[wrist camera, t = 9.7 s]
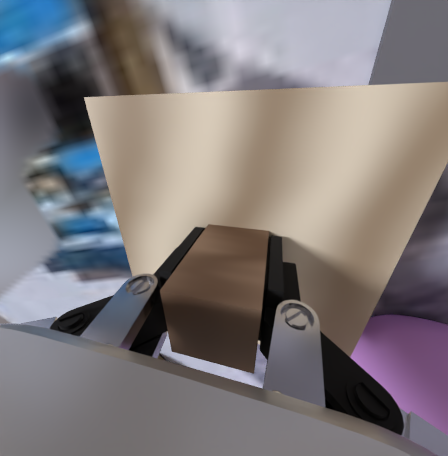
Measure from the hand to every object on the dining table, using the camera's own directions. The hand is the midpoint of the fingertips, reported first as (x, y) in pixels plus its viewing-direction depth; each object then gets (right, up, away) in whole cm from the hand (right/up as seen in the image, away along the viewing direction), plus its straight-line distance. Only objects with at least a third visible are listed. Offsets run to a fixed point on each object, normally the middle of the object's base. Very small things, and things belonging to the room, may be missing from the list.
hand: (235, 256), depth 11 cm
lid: (0, 0, +1) cm, 1 cm away
